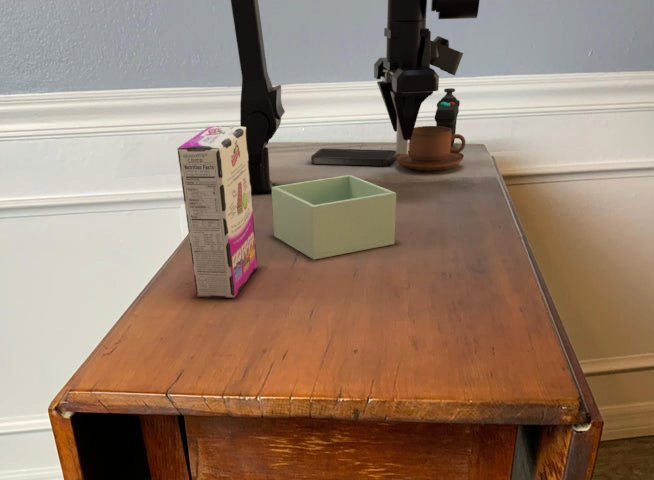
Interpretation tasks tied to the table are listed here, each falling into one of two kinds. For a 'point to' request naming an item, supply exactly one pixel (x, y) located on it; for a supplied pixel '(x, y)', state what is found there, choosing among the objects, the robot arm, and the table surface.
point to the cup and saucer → (432, 149)
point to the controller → (447, 111)
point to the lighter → (401, 142)
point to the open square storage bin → (334, 216)
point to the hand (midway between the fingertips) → (402, 135)
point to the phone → (354, 157)
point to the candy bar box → (219, 210)
